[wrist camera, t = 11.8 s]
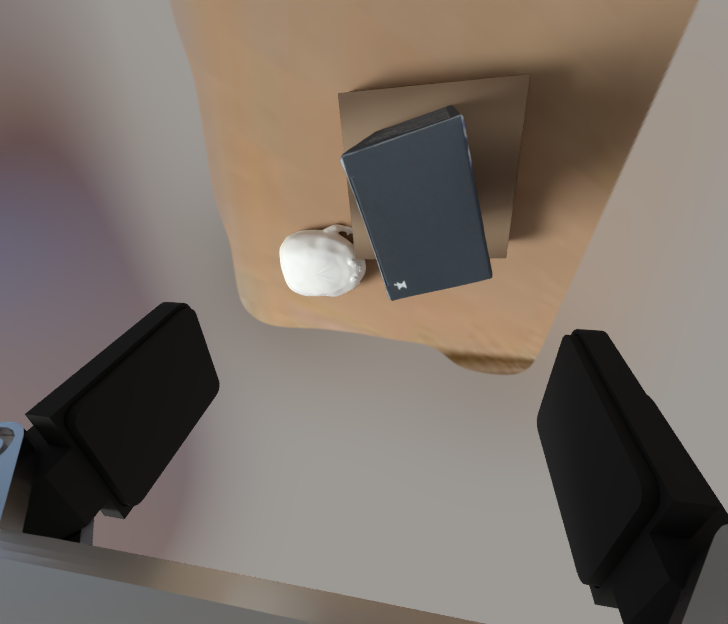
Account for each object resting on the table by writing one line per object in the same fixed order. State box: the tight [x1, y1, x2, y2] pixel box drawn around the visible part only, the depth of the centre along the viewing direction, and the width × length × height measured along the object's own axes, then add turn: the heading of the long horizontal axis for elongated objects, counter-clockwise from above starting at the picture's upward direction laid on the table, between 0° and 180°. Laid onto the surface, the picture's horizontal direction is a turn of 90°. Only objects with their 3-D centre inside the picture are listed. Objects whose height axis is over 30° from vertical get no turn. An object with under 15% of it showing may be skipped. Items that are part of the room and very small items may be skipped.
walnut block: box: [338, 74, 530, 259], centre depth 28 cm, size 12×12×4 cm
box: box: [340, 105, 492, 301], centre depth 22 cm, size 8×6×11 cm
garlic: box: [280, 224, 366, 297], centre depth 33 cm, size 8×7×4 cm
